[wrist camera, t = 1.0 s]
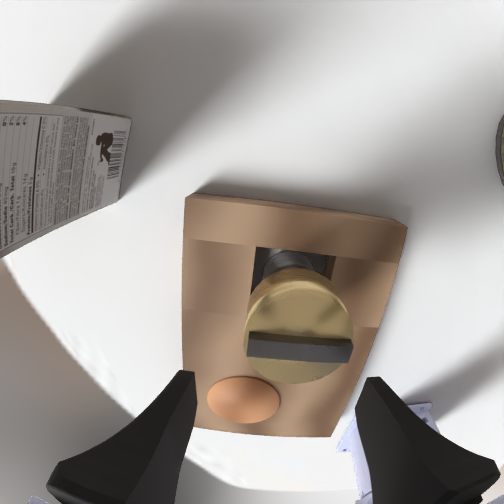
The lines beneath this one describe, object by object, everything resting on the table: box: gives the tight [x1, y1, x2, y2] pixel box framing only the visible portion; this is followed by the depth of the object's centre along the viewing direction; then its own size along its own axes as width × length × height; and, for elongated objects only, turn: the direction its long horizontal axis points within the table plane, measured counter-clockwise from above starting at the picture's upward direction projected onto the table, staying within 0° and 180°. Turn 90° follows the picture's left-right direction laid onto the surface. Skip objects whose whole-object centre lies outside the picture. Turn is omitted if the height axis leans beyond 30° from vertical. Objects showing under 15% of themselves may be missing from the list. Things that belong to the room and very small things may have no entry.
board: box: [182, 193, 408, 437], centre depth 21 cm, size 14×21×2 cm, turn 174°
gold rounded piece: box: [243, 251, 354, 384], centre depth 17 cm, size 5×5×9 cm
